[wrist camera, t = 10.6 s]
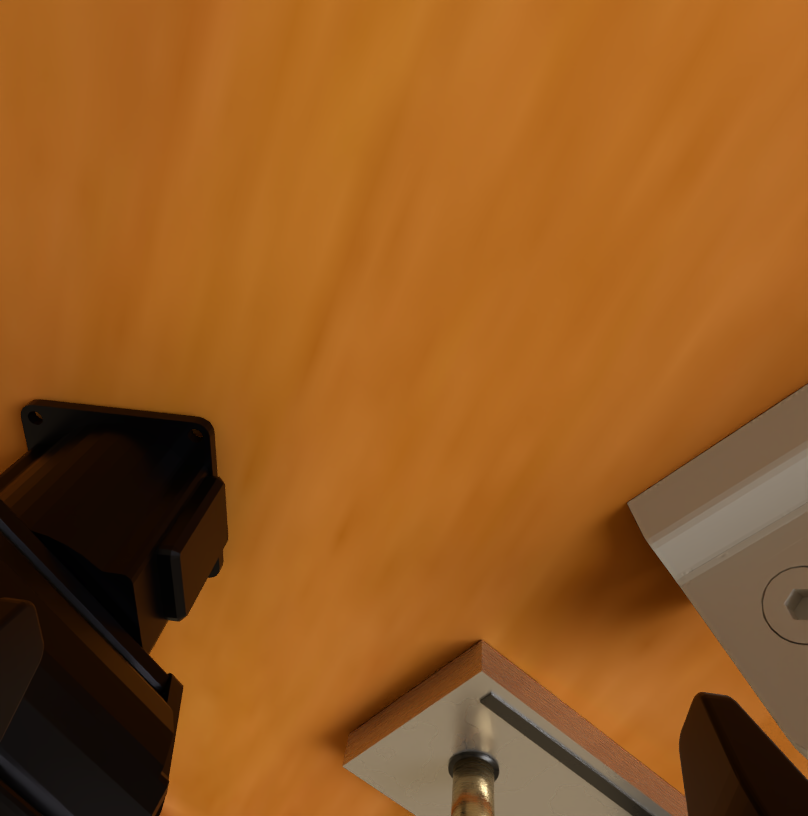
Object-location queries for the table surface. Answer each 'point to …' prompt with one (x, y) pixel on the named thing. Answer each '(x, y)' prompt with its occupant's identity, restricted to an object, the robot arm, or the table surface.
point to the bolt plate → (499, 751)
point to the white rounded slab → (746, 552)
